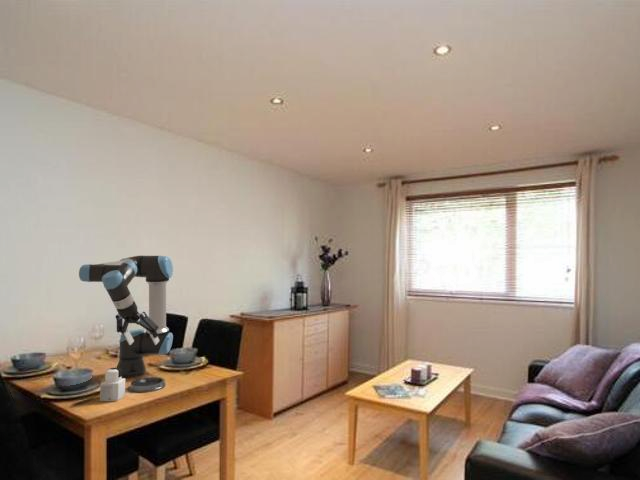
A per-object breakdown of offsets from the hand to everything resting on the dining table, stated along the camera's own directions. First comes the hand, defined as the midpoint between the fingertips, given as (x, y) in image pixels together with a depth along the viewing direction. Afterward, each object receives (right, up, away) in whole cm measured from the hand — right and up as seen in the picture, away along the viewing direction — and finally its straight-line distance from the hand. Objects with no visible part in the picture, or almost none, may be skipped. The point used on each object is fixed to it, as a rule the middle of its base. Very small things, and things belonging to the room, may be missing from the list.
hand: (144, 342), depth 175 cm
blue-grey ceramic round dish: (-5, -26, +15) cm, 30 cm away
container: (-14, -25, -1) cm, 28 cm away
